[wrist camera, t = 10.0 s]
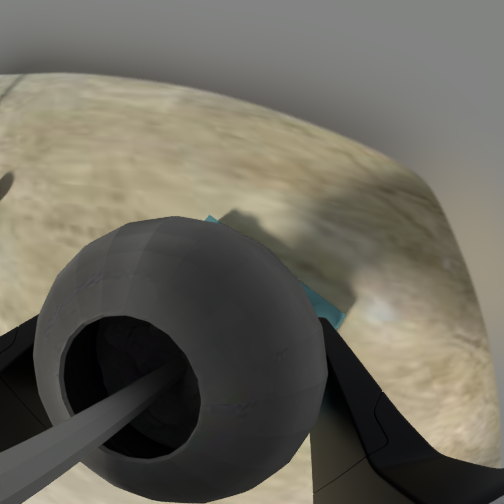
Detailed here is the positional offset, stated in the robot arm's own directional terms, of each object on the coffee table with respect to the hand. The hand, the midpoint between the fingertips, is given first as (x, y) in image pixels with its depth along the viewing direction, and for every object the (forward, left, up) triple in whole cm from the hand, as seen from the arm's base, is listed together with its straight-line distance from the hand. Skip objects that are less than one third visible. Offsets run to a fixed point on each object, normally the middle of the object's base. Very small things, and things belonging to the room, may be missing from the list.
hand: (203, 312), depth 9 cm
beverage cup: (-1, +1, -10) cm, 10 cm away
